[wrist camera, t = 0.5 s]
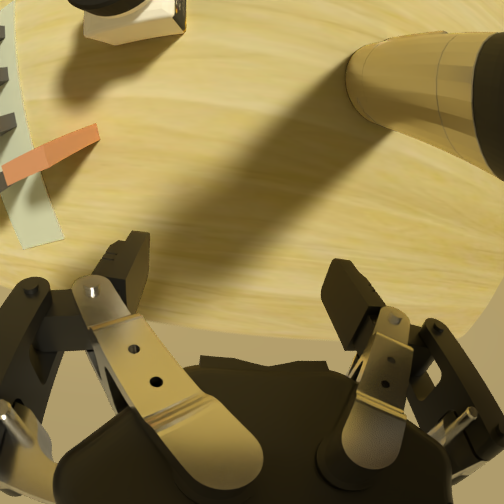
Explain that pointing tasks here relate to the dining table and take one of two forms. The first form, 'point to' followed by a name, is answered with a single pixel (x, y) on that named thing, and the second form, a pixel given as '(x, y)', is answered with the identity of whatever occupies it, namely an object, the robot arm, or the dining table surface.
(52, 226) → the mat
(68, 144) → the domino
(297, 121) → the dining table surface
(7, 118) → the domino
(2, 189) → the domino
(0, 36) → the domino
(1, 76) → the domino
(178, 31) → the medicine bottle
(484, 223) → the dining table surface
